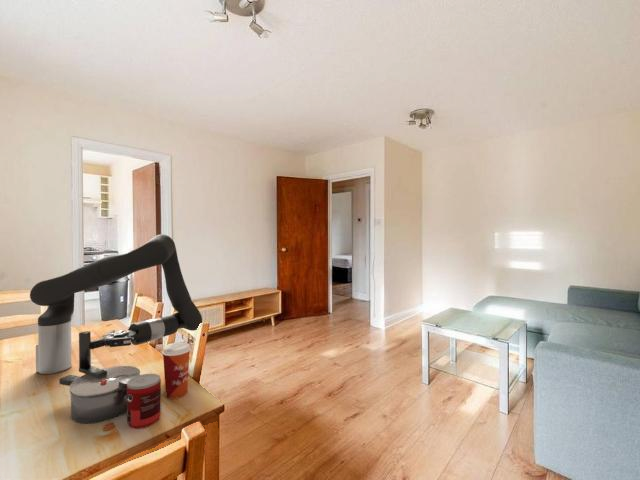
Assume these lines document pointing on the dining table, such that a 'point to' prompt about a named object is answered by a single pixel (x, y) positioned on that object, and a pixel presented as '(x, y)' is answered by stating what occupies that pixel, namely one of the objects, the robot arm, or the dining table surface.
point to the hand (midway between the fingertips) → (89, 345)
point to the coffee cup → (176, 369)
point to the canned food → (143, 400)
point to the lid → (98, 373)
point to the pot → (96, 405)
